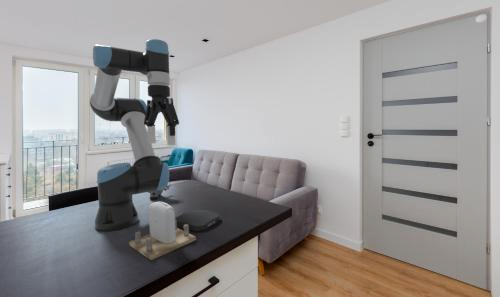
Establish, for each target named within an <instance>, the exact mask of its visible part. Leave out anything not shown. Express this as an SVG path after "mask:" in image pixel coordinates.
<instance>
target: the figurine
mask: <svg viewBox="0 0 500 297" xmlns="http://www.w3.org/2000/svg"><path fill="white" fill-rule="evenodd" d="M170 186H171V187H172V184H171V182H170V183H169V184H168V185H167V187H166V188H165V189H162V190H158V191H152V192H147V193H148V194H149V200H151V201H152V200H153V201H154V200H155V201H156V200H159V198H160V196H161V195H162V194H163V192H164V191H165V192H166V191H168V190H170Z"/></svg>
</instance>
